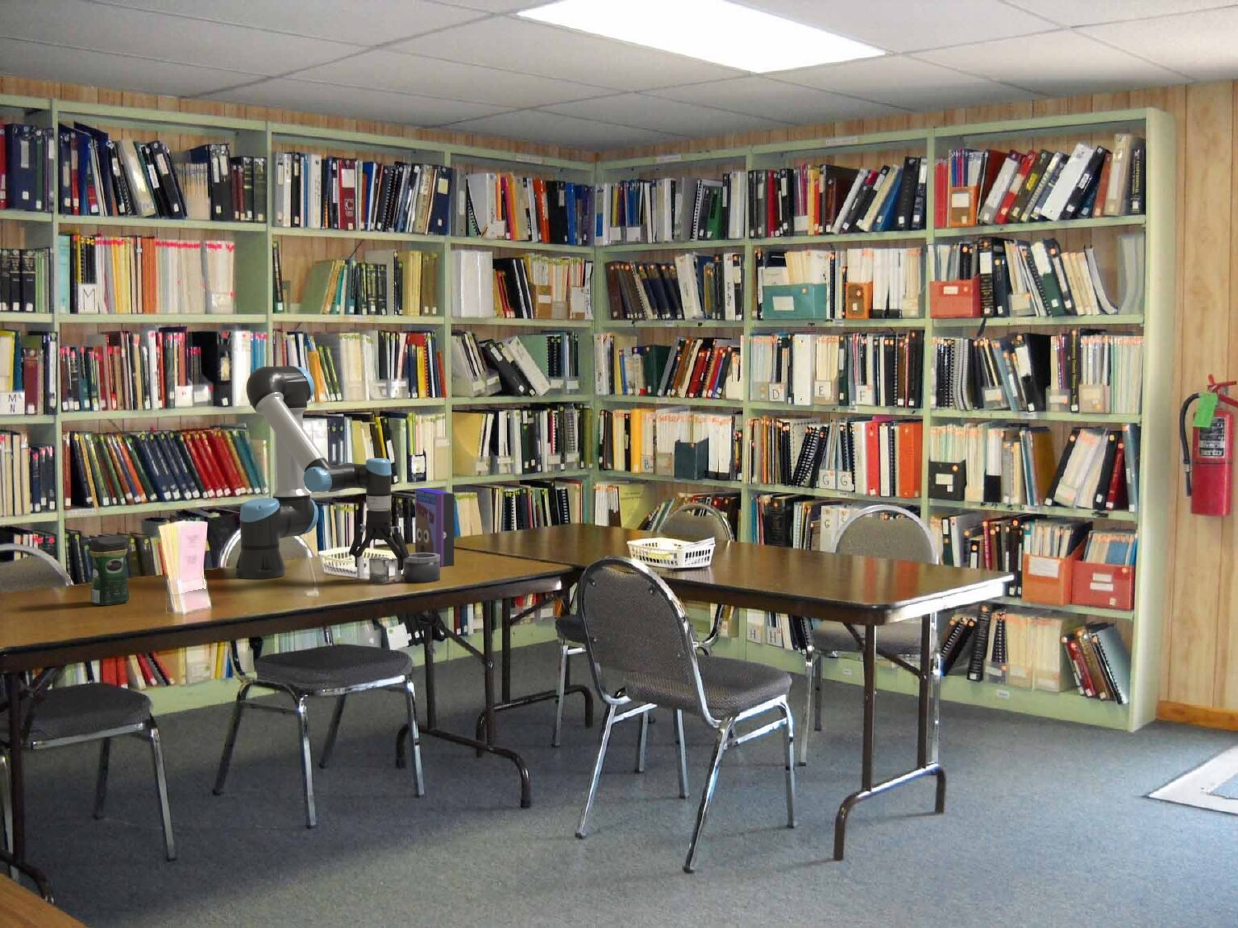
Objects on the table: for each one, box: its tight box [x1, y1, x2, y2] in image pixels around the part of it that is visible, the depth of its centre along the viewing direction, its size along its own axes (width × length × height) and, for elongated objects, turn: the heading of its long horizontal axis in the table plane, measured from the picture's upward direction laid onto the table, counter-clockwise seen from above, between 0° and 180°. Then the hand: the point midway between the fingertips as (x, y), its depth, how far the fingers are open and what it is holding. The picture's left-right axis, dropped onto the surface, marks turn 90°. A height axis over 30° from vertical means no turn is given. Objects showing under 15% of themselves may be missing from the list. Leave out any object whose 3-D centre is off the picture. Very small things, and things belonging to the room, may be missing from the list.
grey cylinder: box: [368, 556, 390, 584], centre depth 407 cm, size 6×6×7 cm
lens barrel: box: [403, 552, 441, 584], centre depth 411 cm, size 11×11×8 cm
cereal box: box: [414, 488, 455, 568], centre depth 442 cm, size 17×5×24 cm, turn 37°
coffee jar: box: [89, 535, 130, 606], centre depth 369 cm, size 10×8×19 cm
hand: (379, 579), depth 408 cm, fingers open, 12 cm apart
